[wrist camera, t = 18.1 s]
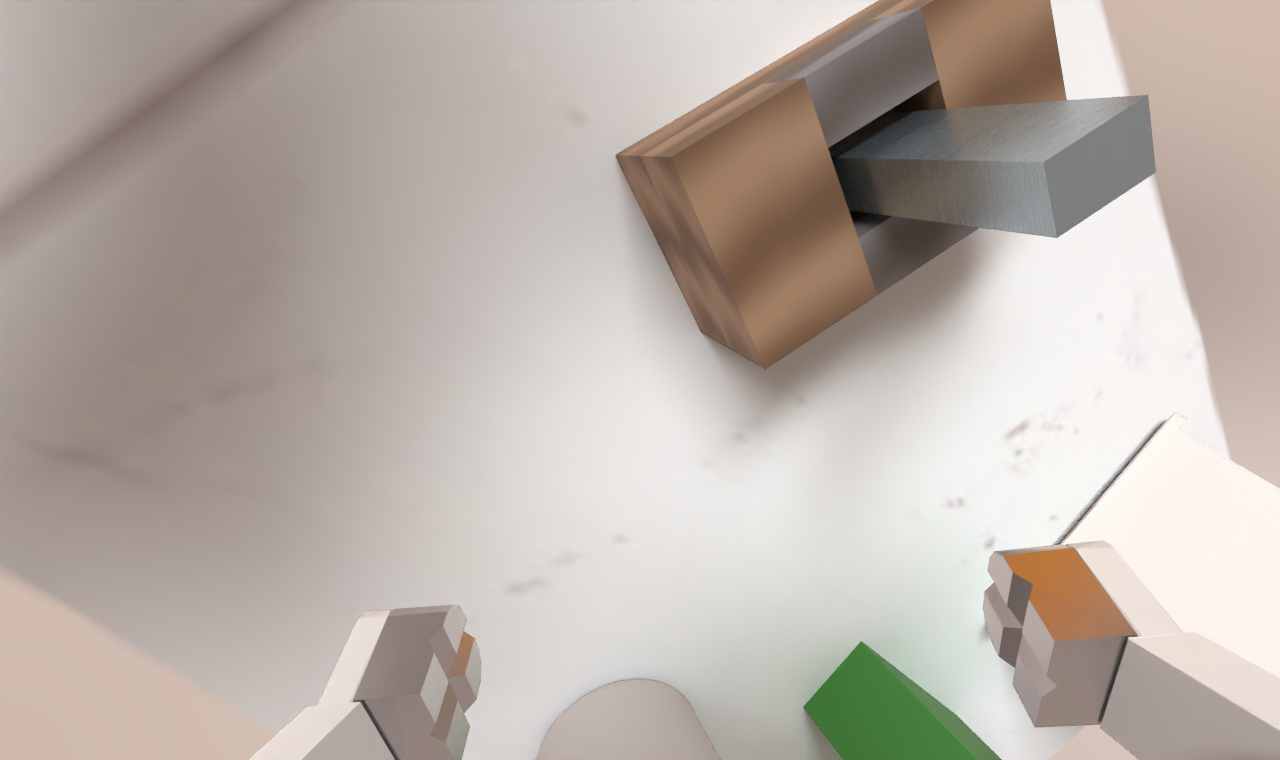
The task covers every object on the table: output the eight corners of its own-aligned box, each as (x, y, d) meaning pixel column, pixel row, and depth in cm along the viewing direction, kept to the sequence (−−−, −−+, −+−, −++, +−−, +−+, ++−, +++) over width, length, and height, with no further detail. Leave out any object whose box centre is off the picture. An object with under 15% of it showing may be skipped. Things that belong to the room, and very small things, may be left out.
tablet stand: (1211, 497, 69) (1444, 595, 54) (1052, 683, 70) (1239, 832, 54) (1151, 400, 61) (1406, 484, 46) (970, 611, 61) (1164, 764, 46)
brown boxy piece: (615, 155, 37) (670, 157, 30) (923, -26, 40) (1039, -63, 33) (701, 332, 43) (765, 369, 36) (968, 160, 46) (1077, 162, 39)
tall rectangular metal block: (804, 156, 37) (1043, 162, 24) (876, 113, 38) (1148, 94, 24) (821, 206, 38) (1056, 237, 25) (890, 163, 39) (1155, 172, 26)
